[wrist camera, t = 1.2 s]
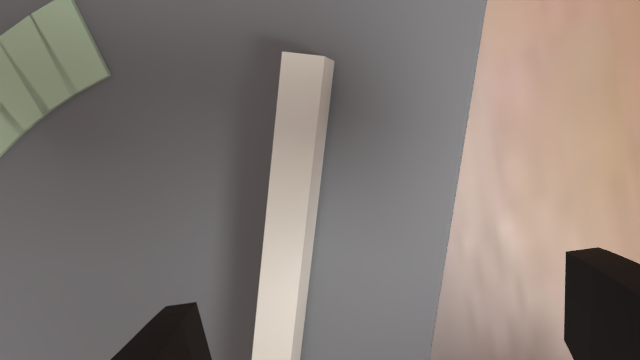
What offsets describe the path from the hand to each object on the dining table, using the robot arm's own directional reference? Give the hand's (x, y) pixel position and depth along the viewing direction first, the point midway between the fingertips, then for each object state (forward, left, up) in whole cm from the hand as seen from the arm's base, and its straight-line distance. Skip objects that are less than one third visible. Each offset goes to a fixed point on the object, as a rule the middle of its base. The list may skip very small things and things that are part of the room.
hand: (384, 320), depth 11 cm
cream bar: (+3, +3, -7) cm, 8 cm away
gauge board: (+9, +2, -9) cm, 13 cm away
